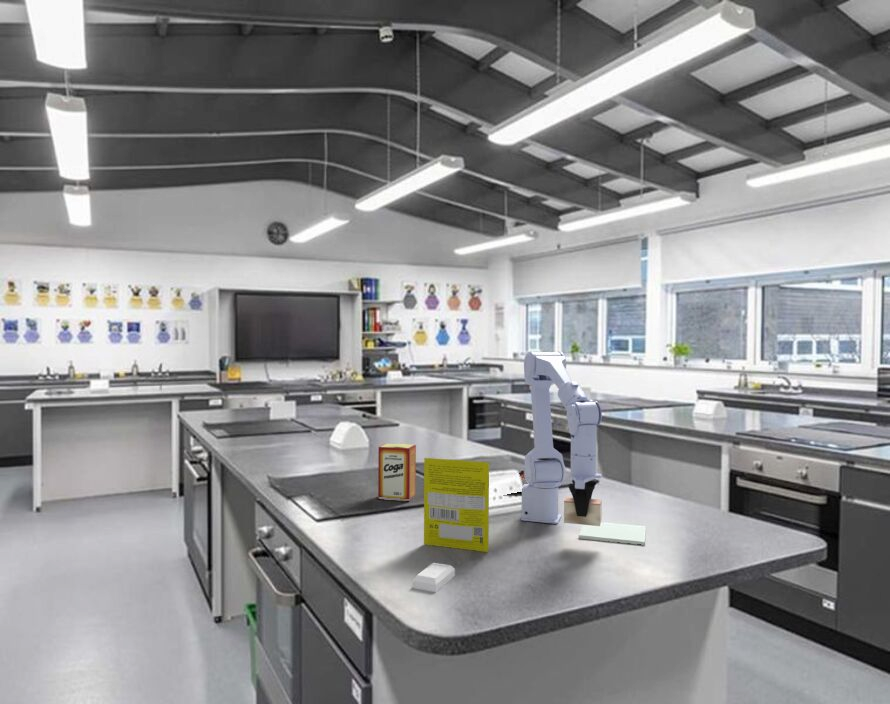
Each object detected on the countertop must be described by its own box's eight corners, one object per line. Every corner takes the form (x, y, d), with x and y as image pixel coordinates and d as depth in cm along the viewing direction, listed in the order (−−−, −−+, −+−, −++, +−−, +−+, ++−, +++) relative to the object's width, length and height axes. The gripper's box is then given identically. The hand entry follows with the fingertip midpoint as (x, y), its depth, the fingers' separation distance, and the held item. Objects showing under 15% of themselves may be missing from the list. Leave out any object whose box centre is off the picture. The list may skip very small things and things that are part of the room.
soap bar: (412, 589, 118) (412, 576, 118) (432, 573, 127) (432, 560, 127) (435, 594, 116) (435, 580, 116) (454, 577, 125) (454, 564, 125)
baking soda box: (378, 499, 184) (378, 445, 183) (385, 494, 190) (385, 442, 190) (409, 502, 181) (409, 447, 181) (415, 496, 188) (415, 443, 187)
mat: (578, 538, 149) (578, 535, 149) (584, 523, 161) (584, 520, 161) (644, 545, 144) (644, 541, 144) (645, 529, 156) (645, 526, 156)
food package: (489, 551, 139) (489, 462, 139) (487, 553, 138) (488, 462, 138) (424, 543, 144) (425, 457, 144) (423, 545, 143) (423, 458, 143)
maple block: (563, 522, 142) (564, 500, 142) (566, 518, 146) (566, 496, 146) (599, 526, 140) (600, 504, 140) (601, 521, 143) (601, 499, 143)
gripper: (598, 461, 134) (598, 523, 135) (603, 450, 148) (603, 507, 148) (565, 459, 137) (565, 520, 137) (573, 448, 150) (573, 504, 151)
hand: (582, 513), depth 143 cm, fingers closed on maple block, 4 cm apart
